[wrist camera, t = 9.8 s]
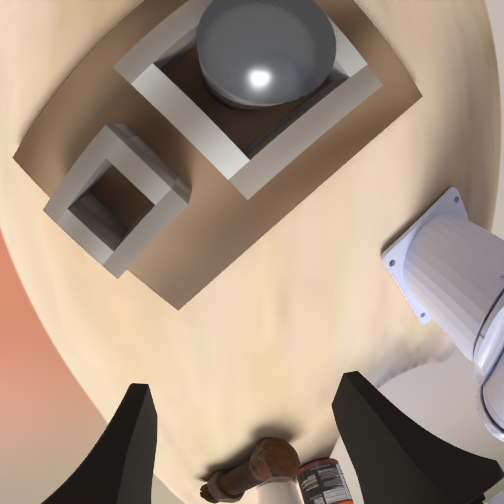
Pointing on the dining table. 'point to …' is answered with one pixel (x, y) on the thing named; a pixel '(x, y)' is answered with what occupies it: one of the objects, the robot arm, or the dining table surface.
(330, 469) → the supplement bottle
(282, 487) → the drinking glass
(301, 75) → the gray metal cylinder
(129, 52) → the fitting board
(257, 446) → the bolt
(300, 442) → the dining table surface
